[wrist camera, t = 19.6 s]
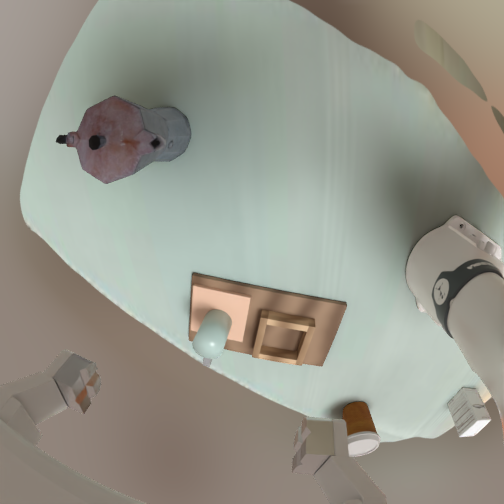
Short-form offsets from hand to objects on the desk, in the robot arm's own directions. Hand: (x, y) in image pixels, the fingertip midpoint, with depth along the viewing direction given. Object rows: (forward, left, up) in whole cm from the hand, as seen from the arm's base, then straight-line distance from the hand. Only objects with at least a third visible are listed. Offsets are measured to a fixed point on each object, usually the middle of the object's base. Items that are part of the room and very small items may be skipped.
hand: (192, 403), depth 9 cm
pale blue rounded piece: (+5, +25, -35) cm, 43 cm away
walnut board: (-3, +23, -37) cm, 43 cm away
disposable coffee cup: (-30, +45, -37) cm, 66 cm away
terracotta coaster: (+5, +22, -36) cm, 42 cm away
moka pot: (+18, -7, -37) cm, 42 cm away
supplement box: (-63, +40, -37) cm, 83 cm away
